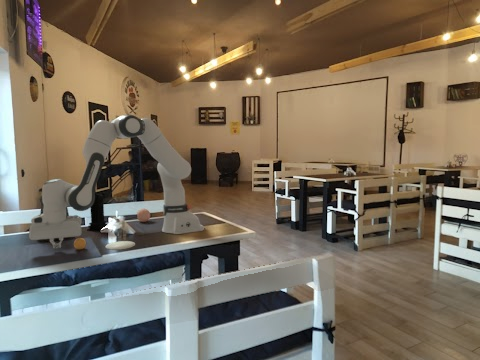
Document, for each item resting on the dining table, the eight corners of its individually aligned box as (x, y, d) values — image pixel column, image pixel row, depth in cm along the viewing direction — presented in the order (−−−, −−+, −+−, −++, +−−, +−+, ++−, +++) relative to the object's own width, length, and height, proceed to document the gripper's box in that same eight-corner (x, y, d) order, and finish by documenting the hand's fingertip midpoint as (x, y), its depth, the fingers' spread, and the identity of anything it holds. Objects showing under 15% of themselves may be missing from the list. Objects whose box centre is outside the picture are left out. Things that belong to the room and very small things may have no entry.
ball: (86, 247, 159) (86, 236, 158) (85, 250, 154) (85, 239, 154) (74, 248, 157) (74, 237, 157) (73, 251, 153) (72, 240, 152)
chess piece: (100, 231, 189) (98, 194, 187) (87, 230, 190) (85, 194, 188) (108, 227, 196) (107, 192, 194) (96, 227, 198) (94, 192, 196)
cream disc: (134, 240, 169) (134, 240, 169) (135, 247, 157) (135, 247, 157) (106, 243, 165) (106, 242, 165) (104, 250, 153) (104, 250, 153)
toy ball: (145, 219, 216) (144, 207, 215) (153, 221, 212) (153, 208, 211) (134, 222, 210) (133, 209, 209) (142, 223, 205) (142, 210, 204)
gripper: (82, 213, 158) (83, 243, 159) (30, 217, 151) (32, 248, 153) (80, 216, 152) (82, 247, 153) (26, 219, 145) (29, 252, 147)
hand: (57, 247), depth 153 cm, fingers closed
